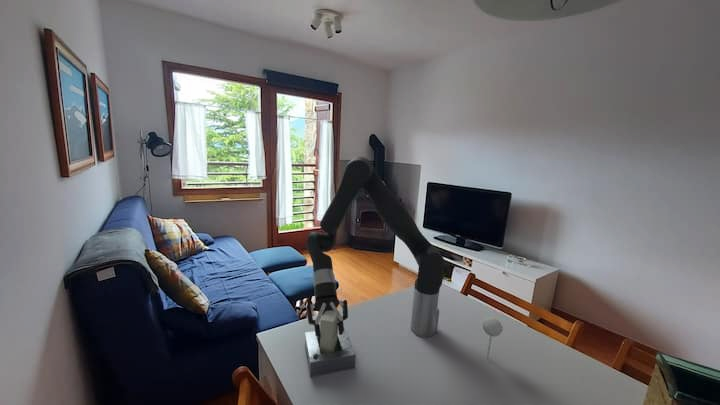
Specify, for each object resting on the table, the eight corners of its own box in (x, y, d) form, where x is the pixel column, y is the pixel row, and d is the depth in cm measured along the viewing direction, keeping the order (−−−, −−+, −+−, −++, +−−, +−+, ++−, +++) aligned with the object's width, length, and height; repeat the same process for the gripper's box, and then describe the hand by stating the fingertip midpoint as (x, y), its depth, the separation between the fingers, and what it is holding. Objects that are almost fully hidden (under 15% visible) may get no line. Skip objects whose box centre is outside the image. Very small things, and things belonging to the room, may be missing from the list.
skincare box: (332, 356, 87) (333, 322, 85) (318, 354, 88) (319, 320, 86) (337, 343, 94) (339, 311, 91) (325, 341, 94) (326, 308, 92)
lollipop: (496, 355, 96) (502, 316, 93) (498, 367, 90) (505, 326, 87) (476, 350, 98) (482, 311, 95) (478, 361, 92) (484, 321, 89)
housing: (344, 338, 100) (344, 325, 99) (354, 368, 87) (355, 353, 86) (304, 345, 96) (305, 331, 95) (310, 377, 83) (310, 361, 82)
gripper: (305, 283, 92) (308, 337, 83) (346, 279, 96) (354, 330, 87) (303, 289, 98) (306, 341, 89) (342, 285, 102) (349, 334, 93)
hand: (330, 336), depth 88 cm, fingers closed on skincare box, 6 cm apart
